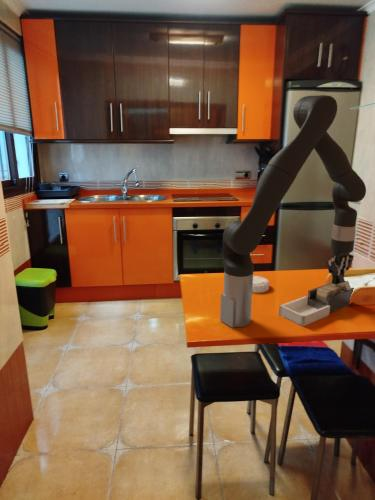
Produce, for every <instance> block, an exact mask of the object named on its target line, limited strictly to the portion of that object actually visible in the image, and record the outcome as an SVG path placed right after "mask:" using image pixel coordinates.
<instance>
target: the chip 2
mask: <svg viewBox="0 0 375 500" xmlns="http://www.w3.org/2000/svg"><path fill="white" fill-rule="evenodd" d="M328 284H329V283H328ZM325 285H326V284H325ZM325 287H327V288H330V289H333V290H334V294H333V295H335V294H337V293H340V292H341V287H339V286H336V285H333V284H329V285H326V286H325Z"/></svg>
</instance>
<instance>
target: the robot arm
mask: <svg viewBox="0 0 375 500" xmlns="http://www.w3.org/2000/svg"><path fill="white" fill-rule="evenodd" d="M292 112H293V113H292V114H293V115H292V116H293V121H294V122H295V124H296V125H297V127H298V129H299V131H298V132H297V134H296V135H295V137H294V138H293V139H292V140H291V141H289V143H288V144H286V145H285V146H284V147H282V148H281V149H280V150H279V151H278V152H276V154H275V155H274V156H272V158H271V159H270V160H269V161H268V163H267V164H266V166H265V168H264V170H263V171H262V173H261V174H260V176H259V178H258V182H257V185H256V188H255V192H254V197H253V200H252V203H251V206H250V208H249V210H248V211H247V213H246V215H245V216H244V219H243V220H232V221H231V222H229V223H228V224H227V225H226V226H225V228H224V230H223V234H222V263H223V267H224V268H223V271H224V273H223V293H221V295H220V317H219V318H220V319H219V320H220V321H221V322H222V323H224V324H225V325H227V326H229V327H230V328H231V329H232V328H233V329H234V328H242V327H246V326H248V325H250V324H251V320H252V302H253V301H252V300H253V292H252V287H253V276H254V268H255V267H254V263H253V260H252V257H251V253H252V252H254V251H255V250H256V249H257V247H258V245H259V244H260V242H261V241H262V238H263V236H264V234H265V232H266V229H267V227H268V225H269V223H270V221H271V219H272V217H273V216H274V214H275V213H276V211H277V209H278V208H279V206H280V204H281V202H282V200H283V199H284V197H285V196H286V195H287V193H288V192H289V190H290V188H291V187H292V184H293V183H294V182H295V180H296V178H297V176H298V174H299V173H300V170H301V169H302V168H303V166H304V164H305V163H306V161H307V160H308V158H309V157H310V155H311V153H312V152H313V151H314V150H315V152H316V154H317V155H318V158H320V160H321V162H322V164H323V167H324V168H325V170H326V173H327V174H328V177H329V178H330V180H331V181H332V182H333V183H334V185H333V187H332V191H331V197H332V203H333V208H334V221H333V227H332V231H331V237H330V238H331V240H330V250H331V251H332V255H331V258H330V259H327V260H326V266H327V269H328V273H329V274H330V275H331V283H333V284H335V285H337V284H338V283H339V274H340V270H341V272H342V275H343V277H344V278H345V274H346V273H347V271H349V270H350V267H351V265H352V262H353V260H354V257H355V256H354V255H353V254H351V253H353V252H354V248H355V247H354V246H355V240H356V232H357V231H356V230H357V229H356V226H357V218H358V211H357V210H356V208H353V207H352V206H350V205H349V202H351V203H358V202H360V201H362V200H363V199H364V198H365V196H366V193H367V188H366V184H365V181H363V179H362V177H360V175H359V174H358V173H357V172H356V171H355V170H354V169H353V168H352V166H351V163H350V161H349V158H348V156H347V153H345V151H344V150H343V148H342V147H341V146H340V145H339V143H337V142H336V141H335V140H334V138H333V137H332V136H331V135H330V134H329V133H328V132H327V131H329V129H330V127H331V126H332V124H333V122H334V121H335V119H336V117H337V114H338V113H337V112H338V103H337V99H335V98H334V97H333V96H332V95H326V94H324V95H322V94H321V95H306V96H303V97H301V98H299V99H298V100H297V102H296V103H295V105H294V107H293V111H292ZM336 269H337V270H336ZM332 274H333V276H332Z"/></svg>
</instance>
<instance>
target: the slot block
mask: <svg viewBox="0 0 375 500" xmlns="http://www.w3.org/2000/svg"><path fill="white" fill-rule="evenodd" d="M329 284H333V283H332V282H329V283H326V284H324V285H321V286H317V287H315V288H312V289H309V290H307V291H308V294H307V297H308V298H307V305H309V306H311V307H314V308H316V309H320V308H322V307H325V306H327V305H329V306H330V312H329V314H331V313H333V312H336V311H339V310H340V309H342V308H346V307H347V306H350V305H349V303H350V297H351V294H352V292H353V289H354V288H355V287H351V289H349V290H346V291H341V292H340V293H337V294H335V295H332V296H329V297H327V299H326V303H325V302H322V301H320V300H317V299H316V295H317V289H318V288H321V287H324V286H326V285H329ZM333 285H334V284H333Z"/></svg>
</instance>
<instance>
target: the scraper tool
mask: <svg viewBox="0 0 375 500" xmlns="http://www.w3.org/2000/svg"><path fill="white" fill-rule="evenodd" d="M336 270H337V269H336ZM332 276H333V274H331V277H332ZM334 285H335V284H334ZM336 286H339V287H341V291H342V292H343V291H346V290H349V289H351V288H352V287H351V284H350V283H349V280H345V276H344V277H343V275H342V272H341V270H340V274H339V283H338V284H337V285H336Z"/></svg>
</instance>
